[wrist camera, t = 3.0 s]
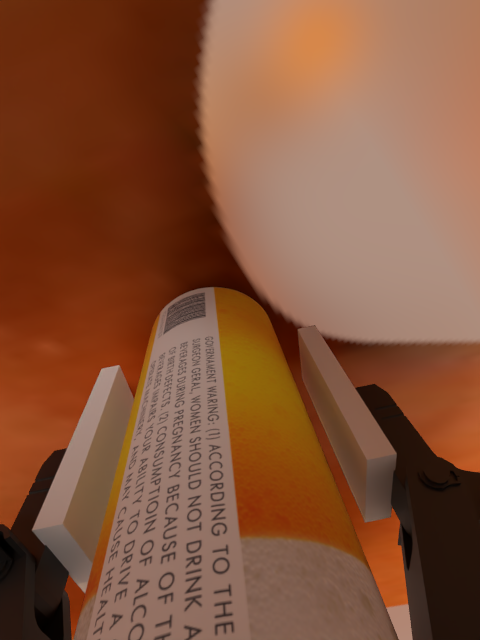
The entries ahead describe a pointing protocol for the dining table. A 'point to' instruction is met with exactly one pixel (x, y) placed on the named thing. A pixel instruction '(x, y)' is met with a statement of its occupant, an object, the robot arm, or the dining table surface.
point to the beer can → (225, 497)
